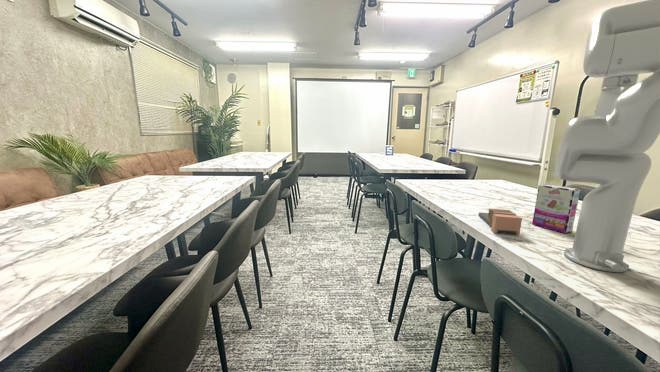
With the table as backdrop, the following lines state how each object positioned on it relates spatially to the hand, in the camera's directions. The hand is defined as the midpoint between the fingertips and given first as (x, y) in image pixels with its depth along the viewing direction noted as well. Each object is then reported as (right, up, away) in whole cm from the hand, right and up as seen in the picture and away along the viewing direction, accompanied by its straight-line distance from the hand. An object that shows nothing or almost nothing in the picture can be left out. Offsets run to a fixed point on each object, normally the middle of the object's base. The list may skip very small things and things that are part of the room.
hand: (605, 142), depth 86 cm
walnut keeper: (-28, -29, +11) cm, 42 cm away
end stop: (-29, -32, +7) cm, 44 cm away
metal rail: (-27, -30, +16) cm, 43 cm away
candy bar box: (-7, -31, +13) cm, 35 cm away
